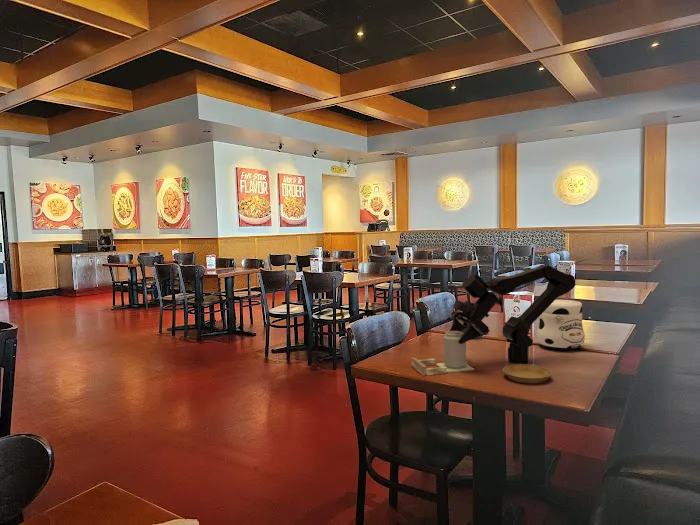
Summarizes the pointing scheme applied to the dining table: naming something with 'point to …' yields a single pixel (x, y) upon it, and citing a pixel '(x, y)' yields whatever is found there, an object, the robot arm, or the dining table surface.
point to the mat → (465, 368)
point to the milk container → (561, 326)
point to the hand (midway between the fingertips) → (453, 340)
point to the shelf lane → (422, 367)
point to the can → (454, 350)
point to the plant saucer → (527, 373)
